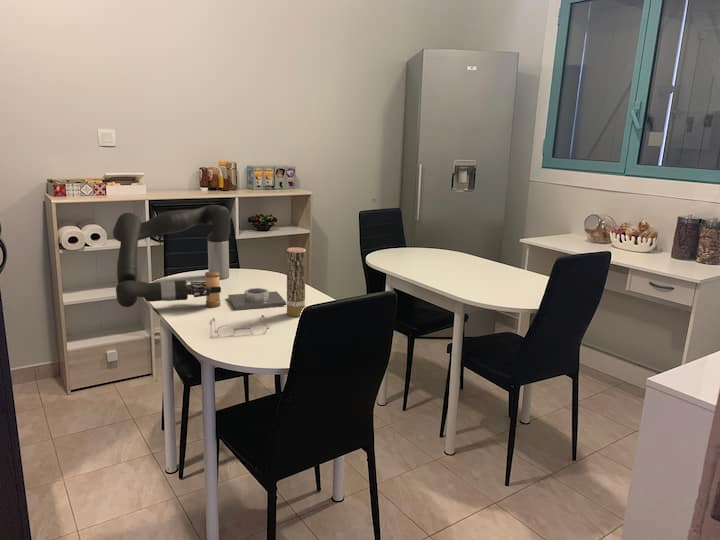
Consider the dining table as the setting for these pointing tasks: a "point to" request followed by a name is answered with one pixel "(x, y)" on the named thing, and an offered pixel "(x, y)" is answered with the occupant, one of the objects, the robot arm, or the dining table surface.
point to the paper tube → (295, 280)
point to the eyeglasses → (241, 328)
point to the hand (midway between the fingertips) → (219, 287)
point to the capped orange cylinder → (212, 281)
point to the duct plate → (256, 299)
